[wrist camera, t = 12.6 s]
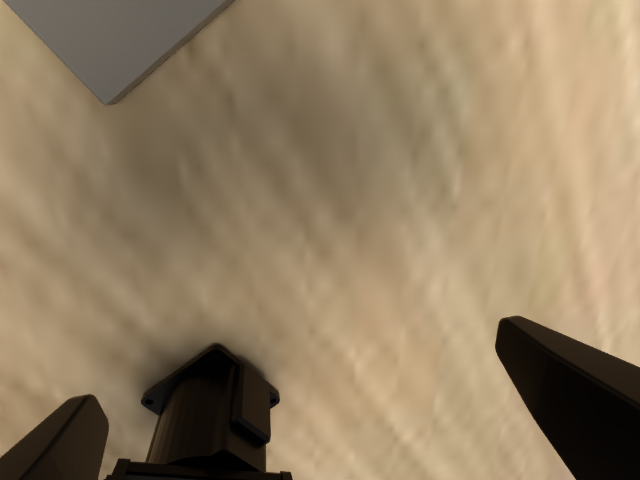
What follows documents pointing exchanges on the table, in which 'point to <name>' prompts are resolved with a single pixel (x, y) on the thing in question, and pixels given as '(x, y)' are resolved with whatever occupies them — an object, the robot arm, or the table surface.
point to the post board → (115, 36)
